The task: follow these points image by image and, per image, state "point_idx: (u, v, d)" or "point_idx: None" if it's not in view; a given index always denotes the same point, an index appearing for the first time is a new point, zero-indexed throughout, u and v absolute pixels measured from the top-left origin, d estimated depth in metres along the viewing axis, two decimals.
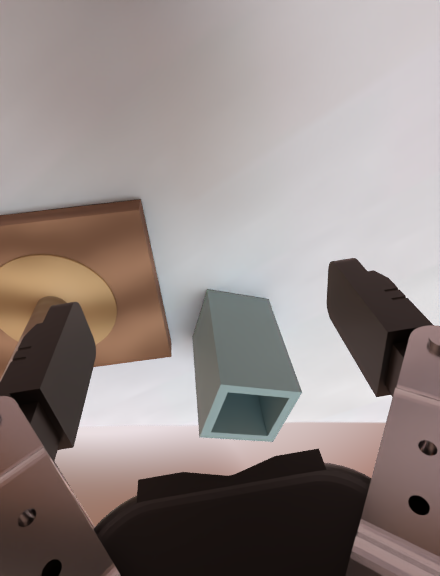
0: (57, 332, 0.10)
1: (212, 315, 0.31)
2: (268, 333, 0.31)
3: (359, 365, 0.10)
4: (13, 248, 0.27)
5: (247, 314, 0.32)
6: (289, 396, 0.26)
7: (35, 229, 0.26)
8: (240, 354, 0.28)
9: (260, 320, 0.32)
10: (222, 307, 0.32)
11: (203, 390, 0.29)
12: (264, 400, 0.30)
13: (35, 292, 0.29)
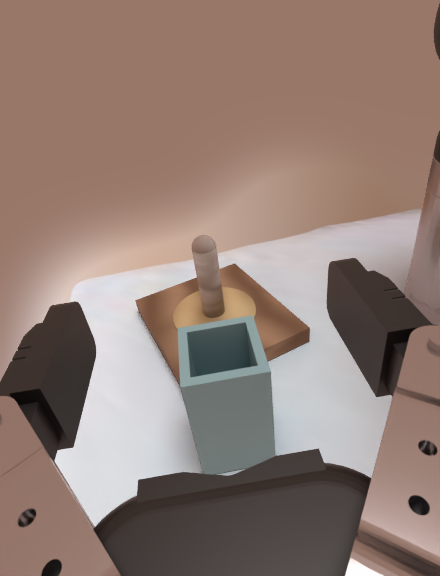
0: (57, 332, 0.10)
1: None
2: None
3: (359, 365, 0.10)
4: (250, 292, 0.47)
5: None
6: (260, 364, 0.25)
7: (267, 296, 0.46)
8: None
9: None
10: None
11: None
12: None
13: (224, 302, 0.45)
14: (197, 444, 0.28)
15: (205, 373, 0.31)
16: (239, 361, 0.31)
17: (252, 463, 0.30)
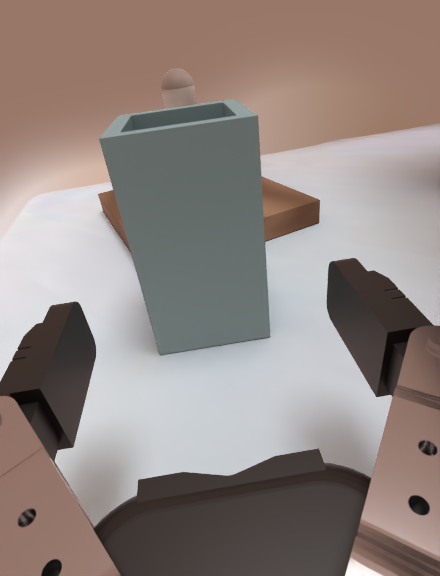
0: (57, 332, 0.10)
1: None
2: None
3: (359, 365, 0.10)
4: None
5: None
6: (240, 114, 0.14)
7: (264, 181, 0.36)
8: None
9: None
10: None
11: None
12: None
13: None
14: (143, 284, 0.17)
15: None
16: None
17: (233, 334, 0.19)
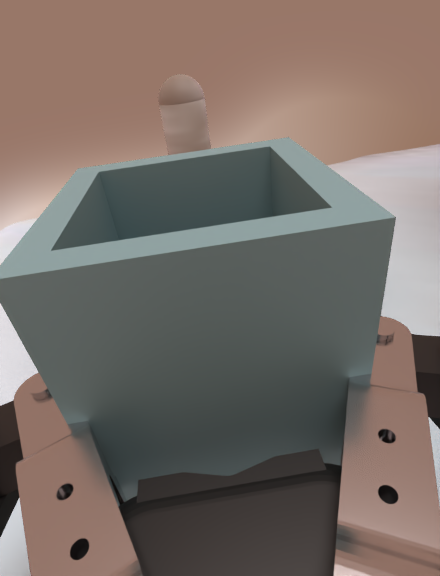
0: None
1: None
2: None
3: None
4: None
5: None
6: (340, 204, 0.06)
7: None
8: None
9: None
10: None
11: None
12: None
13: None
14: None
15: None
16: None
17: None
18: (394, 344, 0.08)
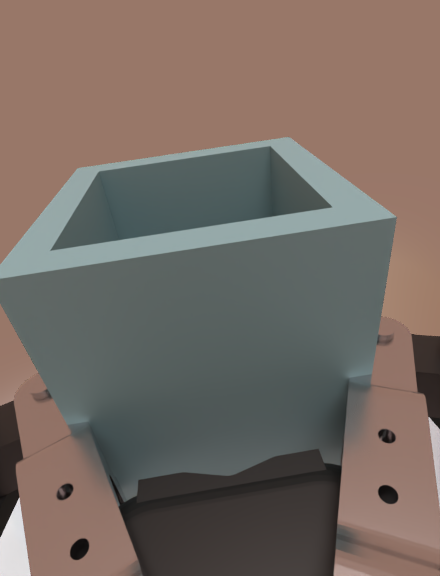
0: None
1: None
2: None
3: None
4: None
5: None
6: (341, 204, 0.06)
7: None
8: None
9: None
10: None
11: None
12: None
13: None
14: None
15: None
16: None
17: None
18: (394, 344, 0.08)
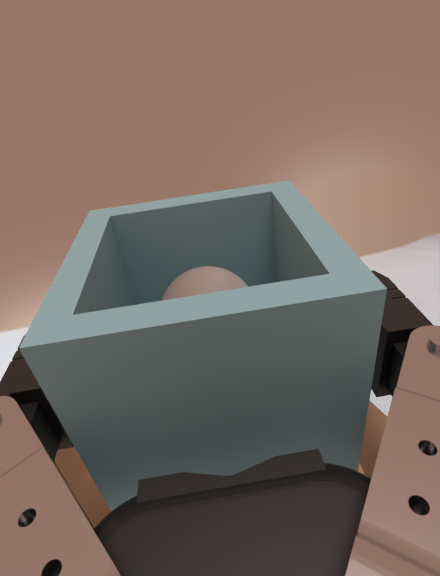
0: None
1: None
2: None
3: None
4: None
5: None
6: (337, 270, 0.07)
7: None
8: None
9: None
10: None
11: None
12: None
13: None
14: None
15: None
16: None
17: None
18: None
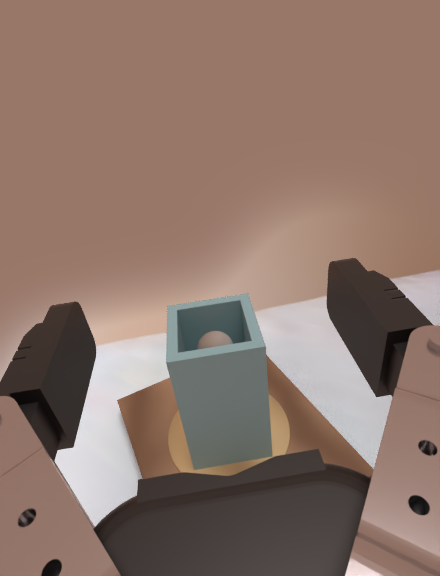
0: (57, 332, 0.10)
1: None
2: None
3: (359, 365, 0.10)
4: (278, 394, 0.33)
5: None
6: (254, 339, 0.23)
7: (304, 403, 0.32)
8: None
9: None
10: None
11: None
12: None
13: None
14: (186, 431, 0.25)
15: None
16: None
17: (246, 456, 0.27)
18: None
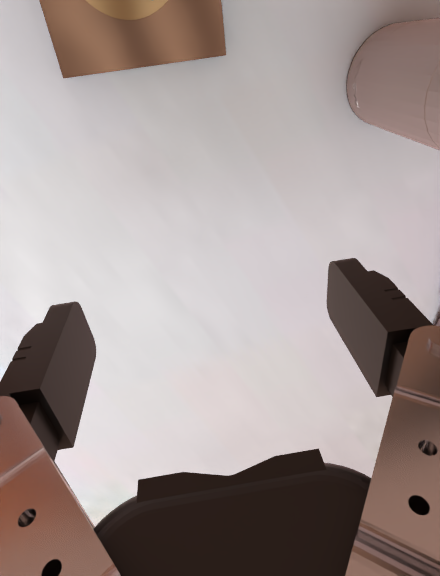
0: (57, 332, 0.10)
1: None
2: None
3: (359, 365, 0.10)
4: None
5: None
6: None
7: None
8: None
9: None
10: None
11: None
12: None
13: None
14: None
15: None
16: None
17: None
18: None
